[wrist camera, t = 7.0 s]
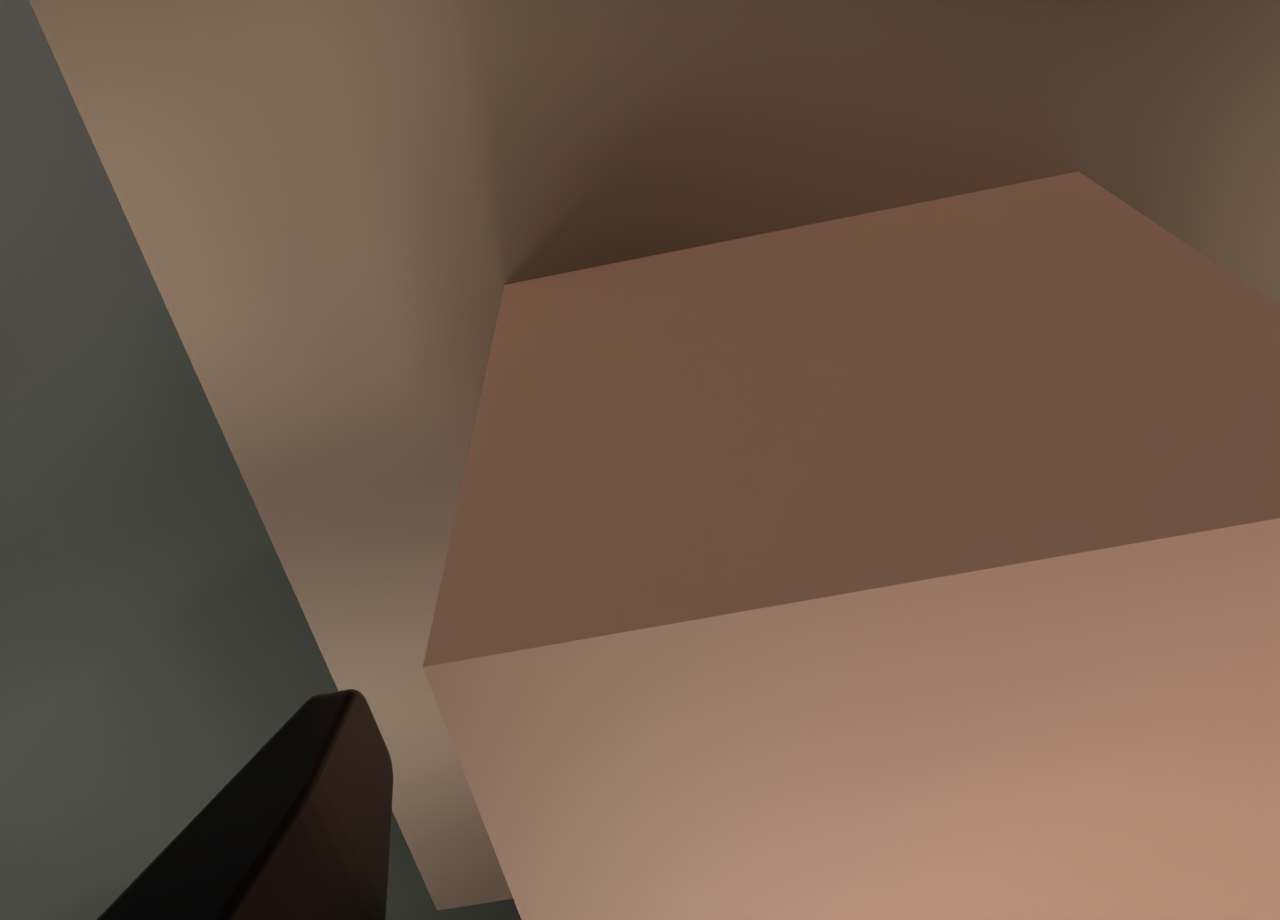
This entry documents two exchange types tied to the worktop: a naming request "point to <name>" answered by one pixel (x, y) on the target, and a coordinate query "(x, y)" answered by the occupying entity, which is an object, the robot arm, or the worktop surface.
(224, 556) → the worktop surface
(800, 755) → the terracotta cube
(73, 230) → the worktop surface
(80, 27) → the flat square plate
